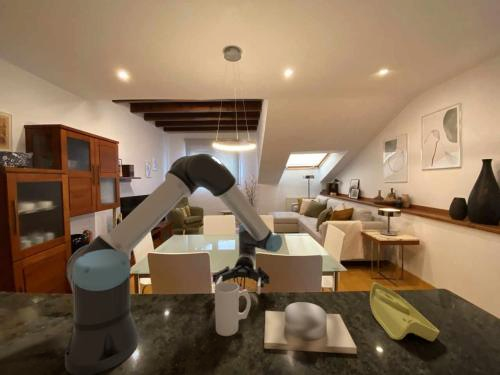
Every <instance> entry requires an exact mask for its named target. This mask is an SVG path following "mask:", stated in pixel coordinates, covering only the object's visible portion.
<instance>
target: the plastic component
mask: <svg viewBox="0 0 500 375" xmlns="http://www.w3.org/2000/svg"><path fill="white" fill-rule="evenodd" d="M369 292H370V293H369V305H370V309H371V312H372V314H373V317H374V318H375V320H376V321H377V323H378V324H379V325H380V326H381V328H383V329H384V331H385V333H386V334H387V335H388V336H389V337H390V338H391V339H392V340H396V341H400V340H403V339H404V338H405V337H406V336H407V334H414V335H415V336H418V337H420V338H422V339H423V340H424V339H425V340H426V341H429V342H434V341H435V340H436V338H437V337H438V336H439V333H440V330H439V329H438V328H437V327H436V326H435V325H434V324H432V323H431V321H429V320H428V319H427V318H426V317H425V316H423V314H421V313H420V312H419V310H417V309H416V308H414V306H412V304H410V303H409V302H408V301H407V300H406V299H404V298H403V297H402V296H400V295H399V294H398V293H396V292H395V291H394V290H391V289H390V288H388V287H386V286H384V285H382V284H380V283H378V282H376V281H374V282H373V283H372V284H371V287H370V291H369Z"/></svg>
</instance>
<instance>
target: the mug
mask: <svg viewBox="0 0 500 375" xmlns="http://www.w3.org/2000/svg"><path fill="white" fill-rule="evenodd" d="M240 297H244V298H245V299H246V307H245V309H244V311H243V312H240V311H239V307H240V306H239V301H240ZM251 301H252V300H251V297H250V295H249V293H248V290H247V289H242V290H240V286H239V284H238V283H237V282H234V281H224V282H221V283H219V284H217V285H216V286H214V305H215V306H214V308H215V309H214V311H215V316H214V317H215V332H216V333H217V334H218V335H220V336H223V337H229V336H233V335H235V334H236V333H237V332H238V330H239V321H240V320H246V319H247V318H248V315H249V312H250V309H251V305H252V304H251V303H252V302H251Z"/></svg>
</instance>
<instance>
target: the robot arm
mask: <svg viewBox="0 0 500 375" xmlns="http://www.w3.org/2000/svg"><path fill="white" fill-rule="evenodd" d="M198 188H204V189H206V190H207V191H209V192H210V193H211V194H212V196H213V197H215V198H219V199H220V201H221V202H222V203H223V204H224V206H225V207H227V209H228V210H229V211H230V212H231V214H232V215H233V216H234V217H235V219H236V220H237V221H238V222H239V223H240V224H239V225H238V258H237V259H236V262H235V264H234V267H233V268H230V266H225V268H223V269H221V270H219V271H217V272H215V273H213V274H212V282H213V283H214V285H215V286H216V285H217V284H219V283H221V282H227V281H229V280H231V279H237V278H243V279H246V278H247V279H249V280H253V281H255V282H256V283H257V294H258V295H261V290H262V289H261V288H265V284H267V285H269V284H270V276H269V275H268V274H267V273H266V272H265V271H264V270H262V267H261V266H258V267H257V268H255V262H256V259H257V253H256V248H257V249H260V250H263V251H266V252H270V253H271V252H272V253H277V252H279V250H281V248H282V246H283V239H282V236H281V235H280V234H278V233H276V232H273V231H272V230H271V229H270V228H269V226H268V225H267V223H266V222H265V221H264V219H263V218H262V217H261V215H259V213H258V212H257V210H256V209H255V207H253V205H252V204H251V202H250V201H249V200H248V198H247V197H246V196H245V194H244V193H243V192H242V190H241V189H240V187H239V186H238V185H237V179H236V178H235V176H234V175H233V173H232V172H231V171H230V170H229V168H228V167H227V166H226V165H225V164H224V163H223V162H221V161H220V159H218V158H216V157H215V156H214V155H212V154H209V153H198V154H194V155H185V156H181V157H179V158H178V159H175V160H174V162H173V163H171V166H170V168H169V170H168V171H167V172H166V173H165V175H164V181H163V182H162V183H160V185H158V186H157V187H156V188H155V189H154V190H153V191H152V192H151V193H150V194H149V195H148V196H147V197H146V198H145V199H144V200H143V201H142V202H141V203H139V204H138V205H137V206H136V207H135V208H134V209H133V210H131V211H130V213H129V214H128V215H126V217H125V218H124V219H122V220H121V221H120V222H119V223H118V224H117V225H116V226H115V227H114V228H113V229H111V231H110V232H109V233H104V234H98V235H97V236H96V237H95V238H94V239H93V240H92V241H91V242H90V243H89V244H86V245H84V246H81V247H80V248H78V249H77V250H76V251H75V252H74V253H73V254H72V255H71V256H70V258H69V260H68V261H67V264H66V277H67V280H68V282H69V285H70V288H71V291H72V300H73V302H72V303H73V330H72V333H71V336H70V338H69V342H68V344H67V348H66V350H65V355H64V367H65V370H66V371H67V372H68V373H69V374H70V375H98V374H100V373H104V372H105V371H108V370H111V369H114V368H115V367H116V366H118V365H120V364H122V363H123V362H124V361H126V360H128V358H130V357H131V356H132V355H133V354H134V353H135V351H136V350H137V347H138V345H139V341H140V340H139V338H140V337H139V336H140V335H139V329H138V327H137V326H136V323H135V320H134V318H133V315H132V312H131V269H132V268H131V266H132V265H131V263H130V260H131V258H132V257H131V256H132V255H131V254H132V251H133V250H134V249H135V248H136V247H137V246H138V245H139V244H140V243H141V242H142V241H143V240H144V239H145V238H146V237H147V236H148V235H149V233H151V231H152V230H153V229H154V228H155V227H156V226H157V225H158V224H159V223H160V222H161V221H162V220H163V219H164V218H165V217H167V215H168V214H169V213H170V212H171V211H172V209H173V208H175V207H176V206H177V204H178V203H179V202H180V201H181V200H182V199H183V198H190V197H191V196H192V195H193V194H194V193H195V192H196V190H197V189H198ZM215 286H214V287H215Z"/></svg>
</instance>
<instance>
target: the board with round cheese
mask: <svg viewBox="0 0 500 375" xmlns="http://www.w3.org/2000/svg"><path fill="white" fill-rule="evenodd" d="M264 316H265V317H264V318H265V320H264V322H265V323H264V341H263V342H264V344H263V346H264V348H263V349H269V350H270V349H271V350H285V351H287V350H288V351H302V352H317V353H318V352H319V353H323V352H324V353H337V354H353V355H354V354H355V355H356V354H358V352H357V351H358V350H357V345H356V344H355V342H354V340H353V338H352V336H351V334H350V331H349V330H348V328H347V326H346V324H345V322H344V320H343V318H342V316H341V314H339V313H327V312H326V311H325V310H324V308H323V307H321V306H319V305H318V304H314V303H311V302H305V301H297V302H293V303H292V302H291V303H290V304H288V305H287V306H286V307H285V309H284V311H277V310H276V311H273V310H272V311H271V310H265V315H264Z"/></svg>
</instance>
